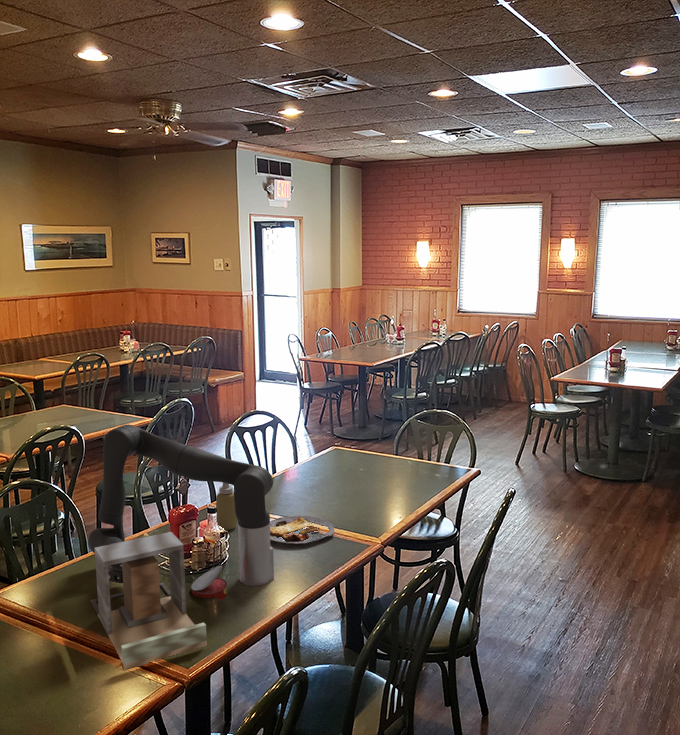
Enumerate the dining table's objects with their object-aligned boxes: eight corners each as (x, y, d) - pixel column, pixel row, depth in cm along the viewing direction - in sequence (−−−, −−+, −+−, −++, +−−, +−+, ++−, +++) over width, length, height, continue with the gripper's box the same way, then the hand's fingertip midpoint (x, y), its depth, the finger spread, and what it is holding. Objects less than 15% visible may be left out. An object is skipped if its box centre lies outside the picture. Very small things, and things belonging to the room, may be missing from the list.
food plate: (286, 554, 227) (286, 543, 227) (247, 533, 245) (246, 523, 245) (346, 536, 243) (347, 526, 243) (305, 517, 261) (305, 508, 261)
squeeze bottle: (242, 523, 253) (241, 474, 250) (233, 532, 246) (231, 482, 243) (221, 521, 255) (219, 473, 252) (211, 530, 248) (209, 480, 245)
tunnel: (163, 589, 205) (160, 519, 202) (206, 646, 175) (203, 566, 172) (91, 607, 195) (86, 534, 192) (124, 670, 165) (118, 586, 162)
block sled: (156, 602, 193) (153, 548, 191) (167, 617, 186) (164, 560, 183) (119, 612, 188) (115, 556, 186) (128, 627, 181) (124, 569, 178)
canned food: (214, 618, 198) (203, 596, 192) (188, 604, 203) (177, 582, 197) (240, 587, 205) (230, 565, 199) (215, 575, 210) (204, 552, 204)
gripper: (95, 552, 201) (109, 575, 186) (142, 542, 208) (160, 564, 193) (97, 577, 202) (111, 602, 187) (143, 566, 209) (161, 590, 194)
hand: (136, 583), depth 190 cm, fingers closed
